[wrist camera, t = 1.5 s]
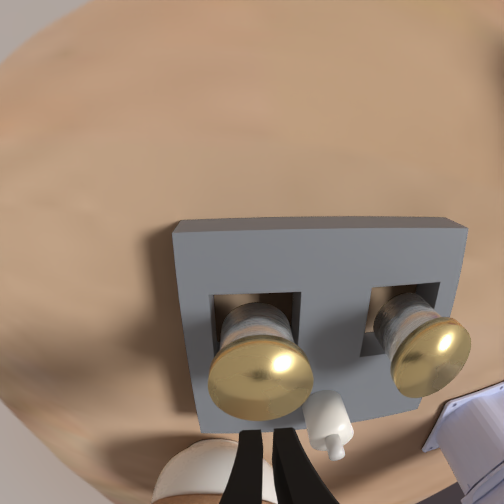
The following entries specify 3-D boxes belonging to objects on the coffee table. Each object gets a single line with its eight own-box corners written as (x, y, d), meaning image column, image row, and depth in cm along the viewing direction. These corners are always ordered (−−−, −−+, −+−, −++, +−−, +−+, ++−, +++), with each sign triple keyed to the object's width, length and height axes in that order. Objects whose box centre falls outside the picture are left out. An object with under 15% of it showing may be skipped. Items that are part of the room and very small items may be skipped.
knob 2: (438, 283, 16) (481, 319, 12) (422, 346, 18) (455, 388, 14) (372, 288, 16) (408, 332, 12) (361, 355, 17) (386, 405, 13)
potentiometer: (344, 387, 18) (364, 439, 14) (338, 414, 19) (354, 463, 15) (303, 392, 18) (317, 447, 14) (300, 418, 19) (311, 470, 15)
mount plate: (445, 217, 18) (468, 228, 15) (405, 388, 22) (417, 408, 20) (181, 220, 17) (172, 232, 15) (203, 408, 22) (201, 433, 19)
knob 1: (299, 293, 16) (318, 342, 12) (295, 362, 17) (308, 417, 13) (210, 296, 16) (202, 347, 12) (216, 365, 17) (212, 422, 13)
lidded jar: (138, 453, 24) (119, 536, 15) (210, 402, 21) (202, 514, 13) (227, 492, 26) (227, 566, 18) (305, 452, 24) (323, 540, 15)
